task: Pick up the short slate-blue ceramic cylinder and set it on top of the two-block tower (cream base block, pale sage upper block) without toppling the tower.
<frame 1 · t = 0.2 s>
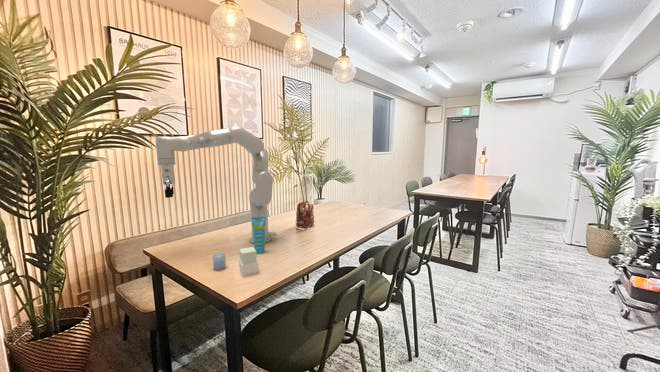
hand: (169, 195, 136), 31 cm above the table, fingers open, 9 cm apart
tube: (260, 252, 143), on the table
block base: (248, 271, 121), on the table
block top: (248, 260, 120), point 5 cm above the table
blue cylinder: (219, 268, 124), on the table
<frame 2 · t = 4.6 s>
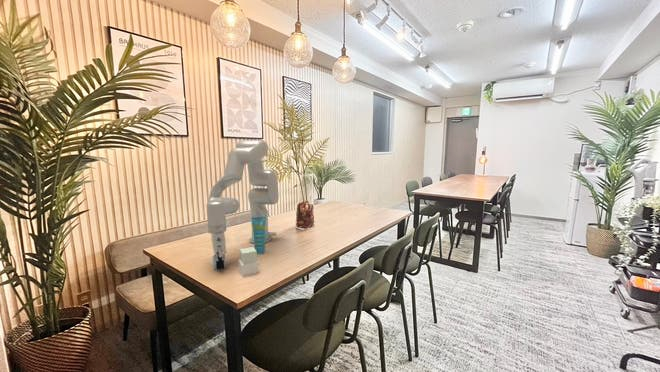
hand: (219, 265, 124), 1 cm above the table, fingers closed on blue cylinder, 5 cm apart
block base: (248, 271, 121), on the table, touching block top
block top: (248, 260, 120), point 5 cm above the table, touching block base
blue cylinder: (219, 268, 124), on the table, touching gripper
everything else where it was.
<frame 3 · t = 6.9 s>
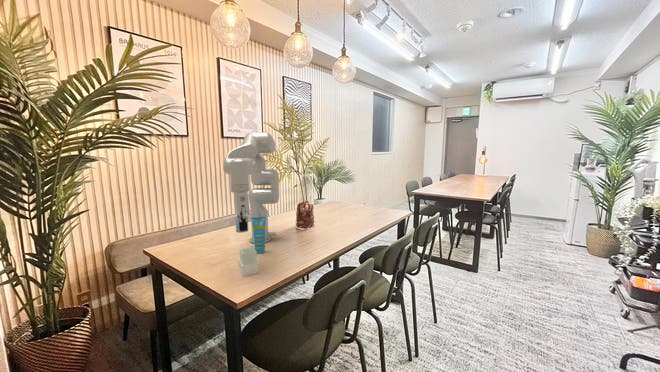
hand: (242, 228, 119), 20 cm above the table, fingers closed on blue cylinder, 5 cm apart
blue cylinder: (242, 230, 119), point 19 cm above the table, touching gripper
everything else where it was.
when the fingers open (12 cm above the table, at t = 9.3 s): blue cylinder drops 1 cm, resting on block top.
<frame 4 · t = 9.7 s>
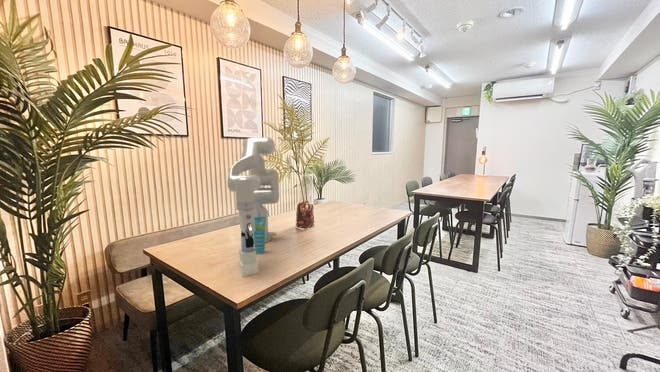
hand: (247, 243, 119), 13 cm above the table, fingers open, 9 cm apart
block top: (248, 261, 120), point 5 cm above the table, touching block base, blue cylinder
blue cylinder: (247, 250, 120), point 10 cm above the table, touching block top
everything else where it was.
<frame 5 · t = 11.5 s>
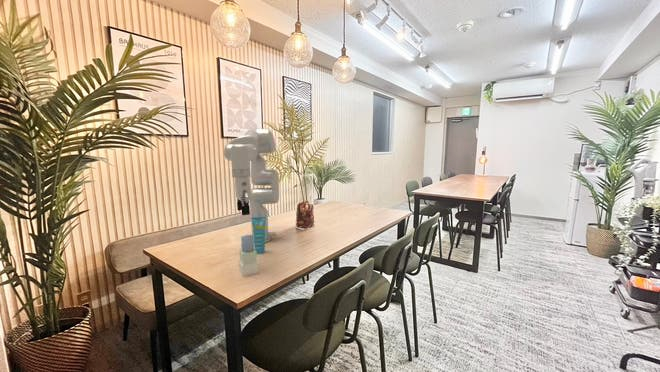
hand: (243, 212, 119), 27 cm above the table, fingers open, 9 cm apart
nothing on the table moved.
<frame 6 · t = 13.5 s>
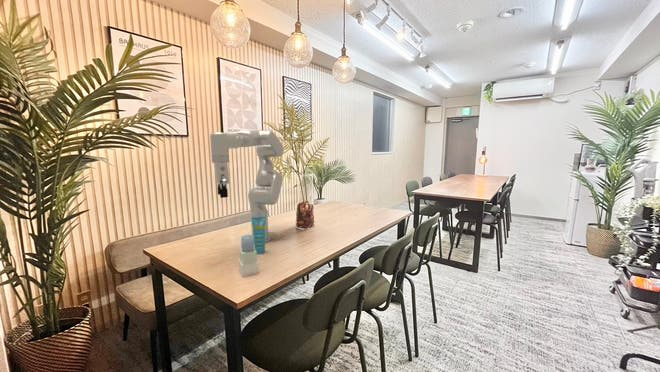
hand: (222, 195, 128), 32 cm above the table, fingers open, 9 cm apart
nothing on the table moved.
at the end: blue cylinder 0.2 cm off-centre on the block top, point 5.0 cm above the block top's base; block top tilted 0°; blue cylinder tilted 0° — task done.
